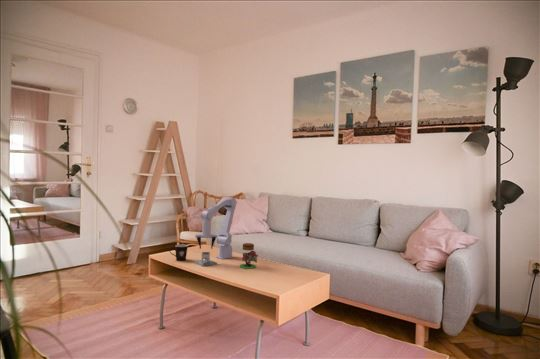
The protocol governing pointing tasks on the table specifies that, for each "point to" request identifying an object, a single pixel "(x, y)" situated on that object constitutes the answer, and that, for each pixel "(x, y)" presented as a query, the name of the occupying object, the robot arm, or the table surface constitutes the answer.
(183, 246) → the coffee mug
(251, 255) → the miniature tree model
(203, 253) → the elbow
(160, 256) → the table surface
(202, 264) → the panel
